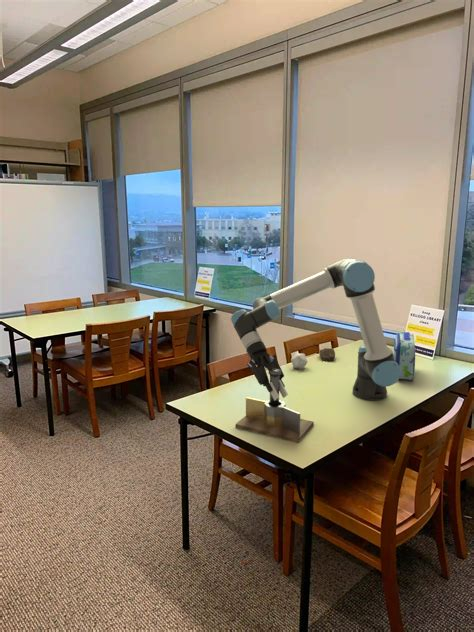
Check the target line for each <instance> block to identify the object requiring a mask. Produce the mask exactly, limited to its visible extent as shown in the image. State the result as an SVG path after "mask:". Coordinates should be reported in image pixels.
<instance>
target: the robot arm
mask: <svg viewBox="0 0 474 632" xmlns="http://www.w3.org/2000/svg"><path fill="white" fill-rule="evenodd" d="M375 279H376V277H375V271H374V269H373V267H372V266H371V265H370V264H369V263H368V262H366V261H364V260H361V259H356V258H352V257H350V258H344V259H341V260H339V261H337V262H335V263H332V264H330V265H328V266H326V267H324V268H323V271H320V272H318V273H317V274H314V275H312V276H309V277H307V278H305V279H303V280H300V281H298V282H296V283H293V284H291V285H289V286H287V287H284V288H282V289H279V290H277V291H275V292H273V293H271V294H268V295H266V296H264V297H263V296H260V297H257V298H256V299H254V301H253V304H252V308H253V309H251V310H250V311H247V310H246V309H240V310H237V311H235V312H234V313H233V314H232V315H231V317H230V320H231V321H230V322H231V323H232V325H233V328H234V330H235V331H236V333H237V336H238V338H239V340H240V341H241V344H242V345H243V347H244V348H245V352H246V353H247V355H248V357H249V358H250V360H249V361H248V362H247V364H246V365H247V367H249V369H250V370H251V371H252V374H253V375H254V378H255V379H256V381H257V383H258V384H259V386H263V387H265V388H266V390H267V391H268V393H269V394H270V393H271V395H272V397H273V399H274V401H275V400H277V399H278V398H279V399H280V395H281V397H282V398H283V399H285V398H286V397H287V396H288V395H289V394H288V391H287V389H285V387H286V385H285V384H284V382H283V378H284V377H285V374H284V373H283V370H282V368H281V366H280V364H279V362H278V360H277V355H276V354H273V355H270V353H269V352H268V350H267V347H266V345H265V343H264V341H263V340H262V337H261V335H260V334H259V332H258V330H257V329H259V328H260V327H262V326H265V325H267V323H270V322H272V321H273V320H275V319H277V318H279V317H280V316H282V315H281V311H280V310H281V309H283V308H286V307H288V306H290V305H293V304H295V303H297V302H300V301H302V300H304V299H306V298H309V297H311V296H313V295H314V296H315V295H316V294H318V293H321V292H323V291H325V290H327V289H330V288H331V289H332V290H334V289H337V288H338V287H343V290H344V294H345V297H346V298H347V299H349V300H350V301H351V304H352V306H353V310H354V314H355V317H356V321H357V323H358V328H359V330H360V335H361V338H362V341H363V344H362V345H360V346H359V347H358V352H357V354H358V355H357V372H356V375H357V376H356V378H355V382H354V384H353V385H352V394H353V396H355V397H357V398H358V399H359V398H360V399H363V400H367V401H381V400H384V399H387V396H388V388H387V387H391V386H392V385H394V384H396V383H397V382H398V381H399V380H400V379H399V378H400V376H401V369H400V366H399V365H398V363H396V362H395V359H394V355H393V349H392V348H390V347H388V345H387V342H386V341H387V340H386V338H385V335H384V330H383V327H382V323H381V320H380V317H379V316H380V315H379V313H378V309H377V305H376V302H375V297H374V294H373V293H375V292H374V291H375V290H376V287H375V284H374V282H375ZM266 369H267V371H268V372H269V369H280V370H281V374H280V375H279V395H278V393H277V391H276V389H275V387H274V386H273V384H272V382H270V378H269V376H268V374H267V371H266Z"/></svg>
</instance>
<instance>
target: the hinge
mask: <svg viewBox="0 0 474 632" xmlns="http://www.w3.org/2000/svg"><path fill="white" fill-rule="evenodd" d="M286 406H287V405H286V402H285V401H284V400H280V399H279V406H271V405H270V399H268V400H262V399H257V398H252V397H247V396H246V397H245V416H246V417H250V418H254V419H258V420H263V421H264V423H265V424H266V425H267V426H270V427H284V428H286V429H288V430H290V431H292V432H294V433H297V434H300V419H301V413H300V412H298V411H295V410H293V409H291V408H288V407H286Z"/></svg>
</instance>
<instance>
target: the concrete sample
mask: <svg viewBox="0 0 474 632" xmlns="http://www.w3.org/2000/svg"><path fill="white" fill-rule="evenodd" d="M335 351H336V350H335V349H334V348H327V347H326V348H325V347H324V348H323V349H319V351H318V355H319V358H320V357H321V359H320V360H323V361H324V362H333V361H335V359H336V352H335Z"/></svg>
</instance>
